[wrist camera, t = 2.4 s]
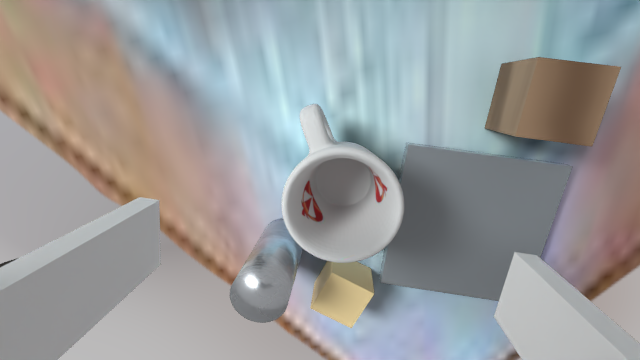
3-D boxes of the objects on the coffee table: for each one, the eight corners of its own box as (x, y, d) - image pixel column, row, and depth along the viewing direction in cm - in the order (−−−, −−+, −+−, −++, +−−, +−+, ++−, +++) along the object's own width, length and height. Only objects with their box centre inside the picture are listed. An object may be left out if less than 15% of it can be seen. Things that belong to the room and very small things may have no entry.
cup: (271, 120, 27) (242, 131, 19) (360, 84, 26) (365, 82, 18) (317, 229, 29) (307, 278, 22) (400, 202, 28) (421, 244, 20)
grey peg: (261, 253, 31) (228, 317, 22) (265, 215, 30) (231, 267, 21) (302, 260, 30) (285, 326, 22) (307, 222, 29) (290, 276, 21)
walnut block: (484, 128, 26) (515, 136, 21) (501, 63, 25) (538, 57, 20) (546, 136, 26) (592, 146, 21) (567, 71, 24) (621, 67, 20)
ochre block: (314, 281, 31) (310, 308, 27) (333, 249, 30) (331, 272, 26) (350, 299, 31) (351, 328, 27) (370, 268, 30) (374, 293, 26)
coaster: (379, 276, 30) (380, 282, 29) (406, 142, 27) (408, 144, 26) (517, 297, 30) (523, 304, 29) (564, 163, 26) (572, 166, 25)
